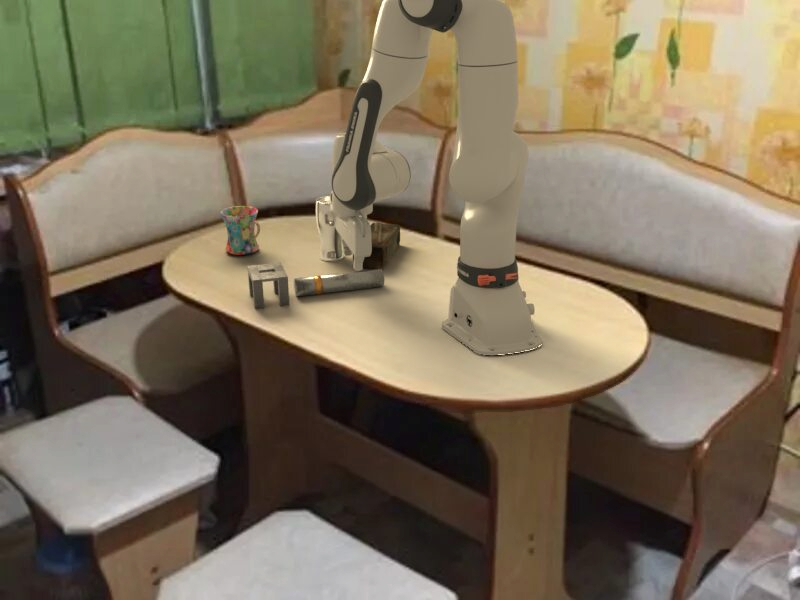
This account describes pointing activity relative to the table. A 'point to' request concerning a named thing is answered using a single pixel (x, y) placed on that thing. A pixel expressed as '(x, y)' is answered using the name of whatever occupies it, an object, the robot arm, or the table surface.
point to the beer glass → (328, 231)
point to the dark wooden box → (382, 245)
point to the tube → (338, 282)
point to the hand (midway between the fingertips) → (352, 262)
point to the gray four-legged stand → (256, 281)
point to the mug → (241, 229)
